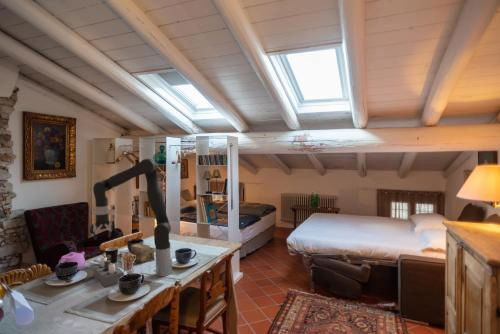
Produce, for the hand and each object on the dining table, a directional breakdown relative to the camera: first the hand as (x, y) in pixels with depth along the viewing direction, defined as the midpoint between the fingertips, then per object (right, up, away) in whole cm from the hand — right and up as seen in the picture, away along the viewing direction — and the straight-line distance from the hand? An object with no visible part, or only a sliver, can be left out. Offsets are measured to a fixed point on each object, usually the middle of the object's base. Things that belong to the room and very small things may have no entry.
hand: (102, 238), depth 194 cm
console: (+5, -24, -4) cm, 25 cm away
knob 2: (+10, -19, -9) cm, 24 cm away
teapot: (-24, -24, +9) cm, 35 cm away
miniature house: (+16, -23, +29) cm, 40 cm away
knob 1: (0, -19, +2) cm, 19 cm away
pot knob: (+5, -19, -4) cm, 20 cm away
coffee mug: (-6, -23, +25) cm, 35 cm away
